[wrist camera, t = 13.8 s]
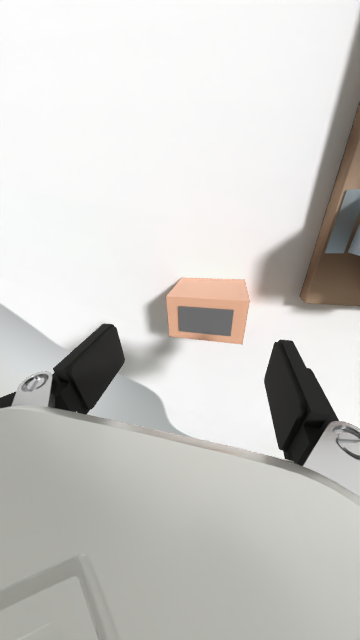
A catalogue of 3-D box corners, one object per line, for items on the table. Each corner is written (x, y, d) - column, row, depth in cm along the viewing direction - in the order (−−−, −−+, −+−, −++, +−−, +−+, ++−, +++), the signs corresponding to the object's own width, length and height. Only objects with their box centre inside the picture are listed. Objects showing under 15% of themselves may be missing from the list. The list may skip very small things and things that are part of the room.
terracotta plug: (239, 314, 20) (242, 345, 15) (182, 310, 21) (168, 337, 16) (244, 279, 18) (249, 301, 13) (181, 277, 19) (165, 296, 15)
